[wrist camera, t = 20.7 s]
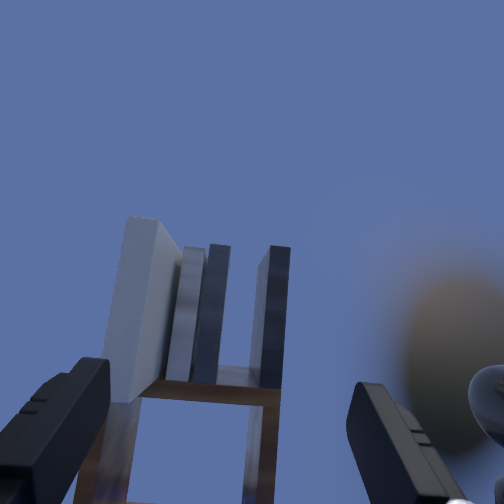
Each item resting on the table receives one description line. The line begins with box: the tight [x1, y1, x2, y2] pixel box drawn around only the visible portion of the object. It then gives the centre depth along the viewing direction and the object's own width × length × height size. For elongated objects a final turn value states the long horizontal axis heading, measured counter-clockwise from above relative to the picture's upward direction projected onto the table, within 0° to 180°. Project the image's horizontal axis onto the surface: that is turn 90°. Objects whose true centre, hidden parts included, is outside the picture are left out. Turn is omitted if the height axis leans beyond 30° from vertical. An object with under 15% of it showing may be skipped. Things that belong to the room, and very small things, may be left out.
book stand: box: [73, 244, 291, 504], centre depth 31 cm, size 12×16×43 cm
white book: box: [101, 216, 183, 404], centre depth 30 cm, size 20×2×12 cm, turn 5°
